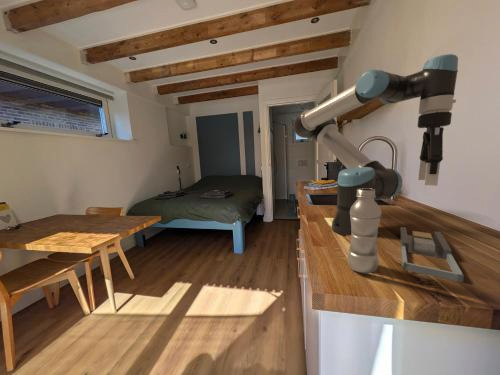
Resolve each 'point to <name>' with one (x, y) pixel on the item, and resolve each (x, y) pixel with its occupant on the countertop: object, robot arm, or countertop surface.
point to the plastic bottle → (364, 232)
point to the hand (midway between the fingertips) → (426, 182)
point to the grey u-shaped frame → (454, 275)
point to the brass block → (421, 235)
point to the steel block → (423, 245)
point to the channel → (439, 241)
